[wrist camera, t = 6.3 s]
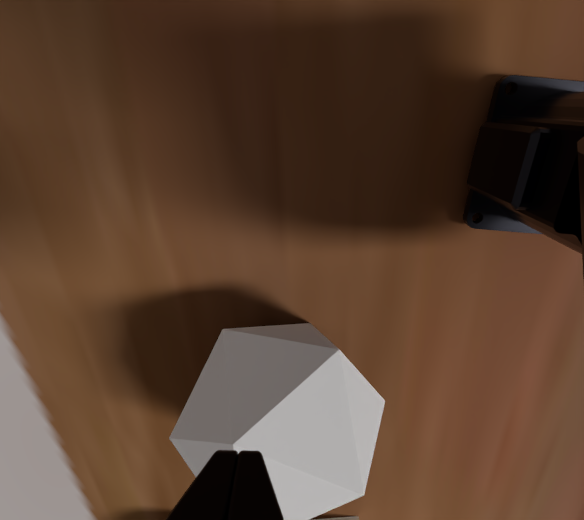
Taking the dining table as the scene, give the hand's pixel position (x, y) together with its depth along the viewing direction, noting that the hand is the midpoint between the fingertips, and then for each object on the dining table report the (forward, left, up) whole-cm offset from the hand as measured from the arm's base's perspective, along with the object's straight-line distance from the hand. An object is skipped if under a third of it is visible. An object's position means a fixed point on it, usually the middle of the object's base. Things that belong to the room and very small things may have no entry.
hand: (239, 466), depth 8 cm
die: (-1, +7, -13) cm, 15 cm away
